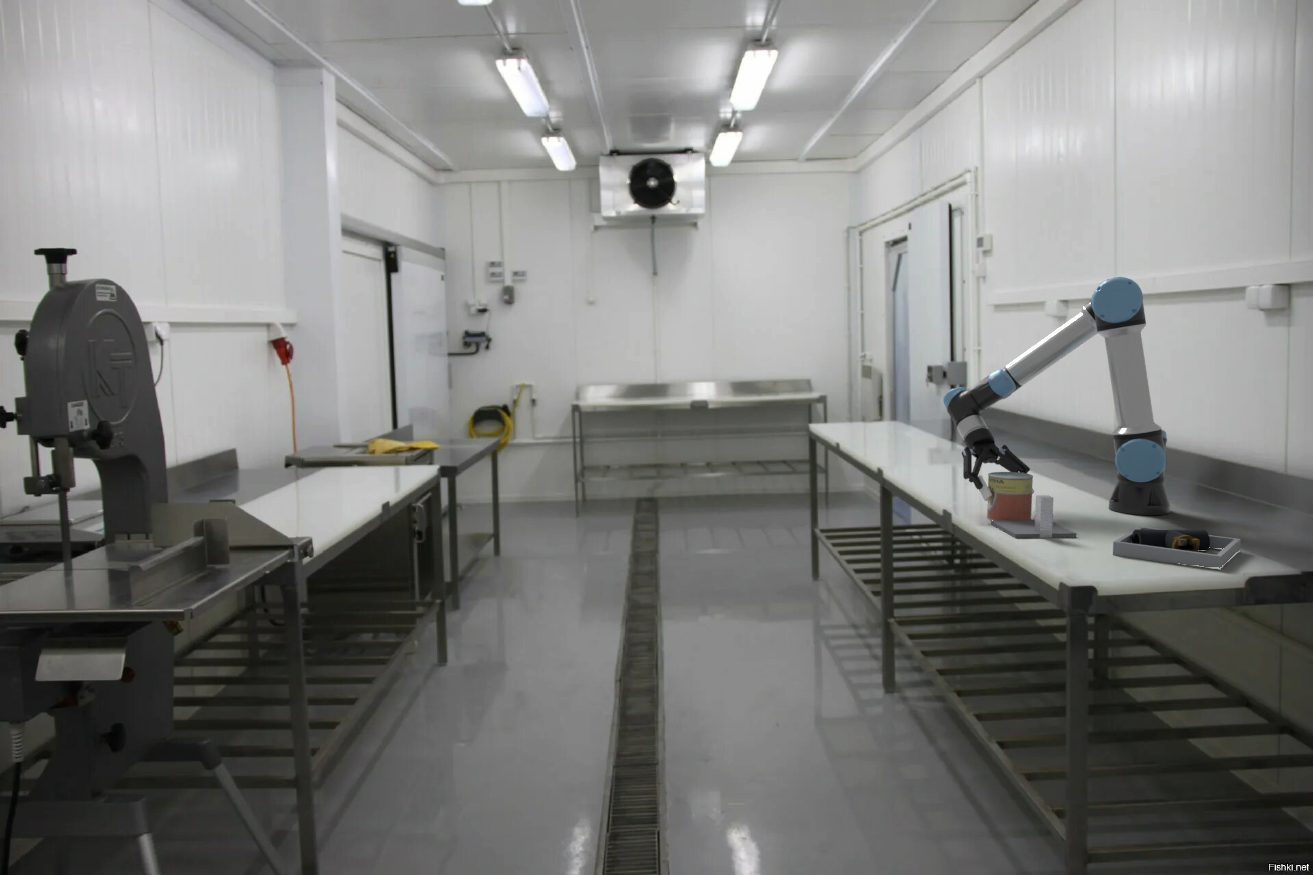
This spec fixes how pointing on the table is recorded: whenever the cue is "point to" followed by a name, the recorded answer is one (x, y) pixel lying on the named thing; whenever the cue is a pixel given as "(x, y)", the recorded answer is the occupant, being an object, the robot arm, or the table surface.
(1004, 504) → the canned food
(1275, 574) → the table surface
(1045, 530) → the block
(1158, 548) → the parts corral
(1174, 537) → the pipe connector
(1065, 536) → the rubber mat
